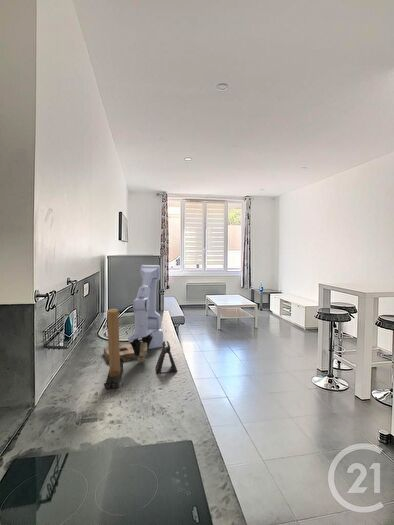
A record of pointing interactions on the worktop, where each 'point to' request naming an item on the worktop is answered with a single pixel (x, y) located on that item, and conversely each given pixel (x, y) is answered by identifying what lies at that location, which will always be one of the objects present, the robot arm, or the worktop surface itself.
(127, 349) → the board
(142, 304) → the robot arm
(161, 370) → the dark a-frame stand
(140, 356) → the peg
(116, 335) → the hammer
